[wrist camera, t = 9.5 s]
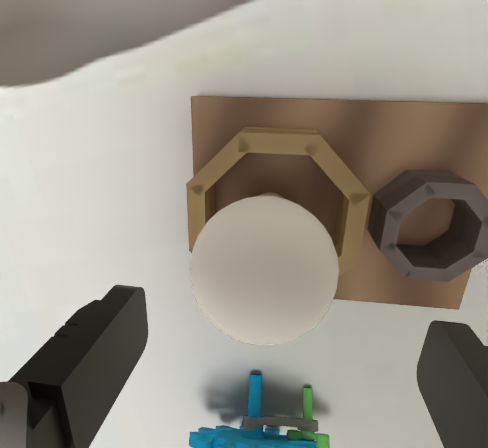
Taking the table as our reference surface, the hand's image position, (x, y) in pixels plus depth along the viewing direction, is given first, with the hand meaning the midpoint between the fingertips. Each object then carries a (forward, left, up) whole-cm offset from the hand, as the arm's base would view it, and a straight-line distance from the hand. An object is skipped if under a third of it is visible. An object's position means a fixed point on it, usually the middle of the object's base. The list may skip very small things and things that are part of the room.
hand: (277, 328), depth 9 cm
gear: (+1, +20, -14) cm, 24 cm away
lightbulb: (+1, +1, -13) cm, 13 cm away
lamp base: (-3, +1, -14) cm, 14 cm away
